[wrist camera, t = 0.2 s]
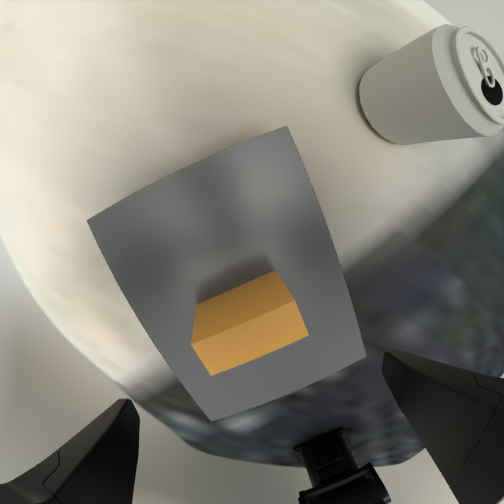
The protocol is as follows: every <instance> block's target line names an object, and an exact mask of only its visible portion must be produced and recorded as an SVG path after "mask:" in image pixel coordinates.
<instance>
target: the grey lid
mask: <svg viewBox="0 0 504 504" xmlns="http://www.w3.org/2000/svg"><path fill="white" fill-rule="evenodd" d="M87 222H88V224H89V227H90V229H91V231H92V233H93V235H94V237H95V239H96V242H97V244H98V246H99V248H100V250H101V252H102V254H103V256H104V258H105V260H106V262H107V264H108V266H109V268H110V270H111V271H112V273H113V275H114V277H115V279H116V281H117V283H118V285H119V286H120V288H121V290H122V292H123V294H124V295H125V297H126V299H127V301H128V302H129V304H130V306H131V307H132V309H133V311H134V312H135V314H136V316H137V317H138V319H139V321H140V322H141V324H142V326H143V327H144V329H145V330H146V332H147V334H148V335H149V337H150V338H151V340H152V341H153V343H154V344H155V346H156V347H157V349H158V350H159V352H160V353H161V355H162V356H163V358H164V359H165V361H166V362H167V364H168V365H169V366H170V368H171V369H172V371H173V372H174V374H175V375H176V376H177V378H178V379H179V380H180V382H181V383H182V384H183V386H184V387H185V389H186V390H187V391H188V392H189V394H190V395H191V396H192V398H193V399H194V400H195V402H196V403H197V404H198V405H199V407H200V408H201V409H202V410H203V412H204V413H205V414H206V415H207V417H208V418H209V419H210V420H211V421H215V420H218V419H221V418H224V417H227V416H230V415H233V414H236V413H239V412H242V411H245V410H248V409H251V408H254V407H256V406H259V405H262V404H264V403H267V402H270V401H272V400H275V399H277V398H280V397H282V396H285V395H287V394H289V393H292V392H294V391H296V390H299V389H301V388H303V387H306V386H308V385H310V384H312V383H314V382H317V381H319V380H321V379H323V378H325V377H327V376H329V375H331V374H333V373H335V372H337V371H339V370H341V369H343V368H345V367H347V366H349V365H351V364H353V363H355V362H357V361H359V360H360V359H362V358H364V357H366V353H365V349H364V345H363V341H362V337H361V334H360V330H359V326H358V323H357V319H356V315H355V312H354V308H353V305H352V301H351V298H350V295H349V291H348V288H347V285H346V282H345V278H344V275H343V272H342V269H341V266H340V263H339V260H338V257H337V254H336V251H335V248H334V245H333V242H332V239H331V236H330V233H329V230H328V227H327V225H326V222H325V219H324V216H323V213H322V211H321V208H320V205H319V203H318V200H317V197H316V195H315V192H314V190H313V187H312V184H311V182H310V179H309V177H308V174H307V172H306V169H305V167H304V164H303V162H302V160H301V157H300V155H299V152H298V150H297V148H296V145H295V143H294V141H293V138H292V136H291V134H290V131H289V129H288V127H287V126H285V127H282V128H279V129H276V130H274V131H271V132H268V133H266V134H263V135H260V136H258V137H255V138H253V139H250V140H248V141H245V142H243V143H240V144H238V145H235V146H233V147H230V148H228V149H226V150H223V151H221V152H219V153H216V154H214V155H212V156H209V157H207V158H205V159H203V160H201V161H198V162H196V163H194V164H192V165H190V166H188V167H185V168H183V169H181V170H179V171H177V172H175V173H173V174H171V175H169V176H167V177H165V178H163V179H161V180H159V181H157V182H155V183H153V184H151V185H149V186H147V187H145V188H143V189H141V190H139V191H138V192H136V193H134V194H132V195H130V196H128V197H127V198H125V199H123V200H121V201H119V202H118V203H116V204H114V205H112V206H111V207H109V208H107V209H105V210H104V211H102V212H100V213H98V214H97V215H95V216H93V217H92V218H90V219H88V220H87Z"/></svg>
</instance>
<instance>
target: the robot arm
mask: <svg viewBox="0 0 504 504" xmlns="http://www.w3.org/2000/svg"><path fill="white" fill-rule="evenodd" d="M382 374H383V376H384V378H385V380H386V382H387V384H388V386H389V388H390V390H391V392H392V394H393V396H394V398H395V400H396V402H397V404H398V406H399V408H400V409H401V411H402V412H403V414H404V415H405V417H406V418H407V420H408V421H409V423H410V425H411V426H412V428H413V429H414V431H415V432H416V434H417V435H418V437H419V438H420V440H421V442H422V443H423V445H424V446H425V448H426V449H427V451H428V452H429V454H430V456H431V457H432V459H433V460H434V462H435V464H436V465H437V467H438V469H439V470H440V472H441V473H442V475H443V477H444V478H445V480H446V482H447V484H448V485H450V486H449V487H450V489H451V490H452V492H453V494H454V496H455V497H456V499H457V501H458V502H459V504H499V503H500V502H501V501H502V500H503V499H504V378H499V377H493V376H489V375H484V374H480V373H477V372H472V371H469V370H465V369H462V368H458V367H454V366H451V365H447V364H444V363H440V362H437V361H434V360H430V359H427V358H423V357H420V356H417V355H414V354H410V353H407V352H404V351H401V350H397V349H392V350H389V351H386V352H385V353H384V356H383V365H382ZM139 427H140V418H139V415H138V412H137V410H136V408H135V407H134V405H133V403H132V401H131V400H130V399H128V398H127V399H118V400H117V401H116V402H115V403H114V404H112V405H111V406H110V407H109V408H108V409H106V410H105V411H104V412H103V413H102V414H100V415H99V416H98V417H97V418H96V419H94V420H93V421H92V422H91V423H90V424H88V425H87V426H86V427H85V428H84V429H82V430H81V431H80V432H79V433H77V434H76V435H75V436H74V437H72V438H71V439H70V440H69V441H68V442H66V443H65V444H64V445H63V446H61V447H60V448H59V449H58V450H56V451H55V452H54V453H53V454H51V455H50V456H49V457H47V458H46V459H45V460H44V461H42V462H41V463H39V464H38V465H36V466H35V467H33V468H32V469H30V470H29V471H27V472H25V473H24V474H22V475H20V476H19V477H17V478H15V479H14V480H12V481H10V482H8V483H4V484H0V504H132V499H133V490H134V483H135V475H136V468H137V462H138V452H139ZM294 452H295V454H296V455H297V457H298V458H299V460H300V461H301V462H302V464H303V465H304V467H305V468H306V469H307V472H308V475H309V478H310V481H311V484H312V487H313V488H311V489H308V490H305V491H300V492H299V495H300V497H299V498H298V501H299V504H388V503H390V502H391V499H390V496H389V494H388V492H387V490H386V488H385V486H384V484H383V482H382V481H381V479H380V478H379V476H378V474H377V473H376V471H375V469H374V468H373V466H372V464H371V463H370V462H369V463H367V464H366V465H365V466H363V467H361V468H358V466H357V464H356V462H355V460H354V458H353V456H352V454H351V452H352V448H351V445H350V443H349V440H348V437H347V435H346V432H345V430H344V428H339V429H337V430H334V431H332V432H330V433H328V434H326V435H323V436H321V437H319V438H316V439H314V440H312V441H309V442H307V443H304V444H302V445H299V446H296V447H295V448H294Z"/></svg>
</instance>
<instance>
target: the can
mask: <svg viewBox="0 0 504 504" xmlns="http://www.w3.org/2000/svg"><path fill="white" fill-rule="evenodd" d="M359 95H360V103H361V106H362V109H363V111H364V114H365V116H366V118H367V119H368V121H369V122H370V124H371V126H372V127H373V128H374V129H375V130H376V131H377V132H378V133H379V134H380V135H381V136H382V137H383V138H385V139H387V140H389V141H391V142H392V143H395V144H401V145H409V144H416V143H424V142H432V141H441V140H451V139H461V138H473V137H487V136H492V135H496V134H497V133H498V132H499V131H500V130H501V129H502V127H503V125H504V60H503V58H502V56H501V55H500V53H499V52H498V50H497V49H496V48H495V46H494V45H493V44H492V43H491V42H490V41H489V40H488V38H486V36H485V35H483V34H482V33H480V32H479V31H477V30H476V29H474V28H471V27H468V26H464V27H461V28H459V27H456V26H452V25H448V24H445V25H442V26H439V27H437V28H435V29H433V30H431V31H429V32H428V33H426V34H424V35H422V36H421V37H419V38H417V39H416V40H414V41H412V42H410V43H409V44H407V45H405V46H404V47H402V48H401V49H399V50H397V51H396V52H394V53H392V54H391V55H389V56H388V57H386V58H385V59H383V60H381V61H380V62H378V63H377V64H375V65H374V66H372V67H371V68H369V69H368V70H367V71H366V72H365V74H364V75H363V76H362V79H361V83H360V86H359Z"/></svg>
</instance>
